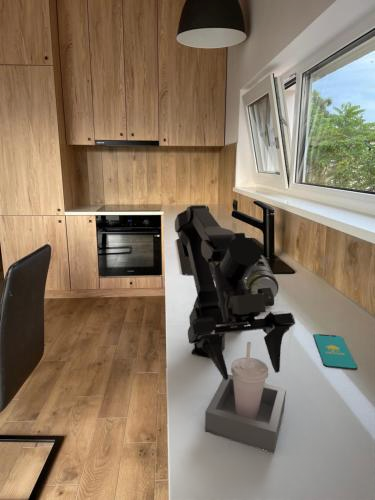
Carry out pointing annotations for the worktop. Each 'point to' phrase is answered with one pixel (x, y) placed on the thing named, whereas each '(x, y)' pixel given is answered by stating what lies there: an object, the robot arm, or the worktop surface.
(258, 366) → the smoothie
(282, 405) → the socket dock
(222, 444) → the worktop surface
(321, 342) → the smartphone
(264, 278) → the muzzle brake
